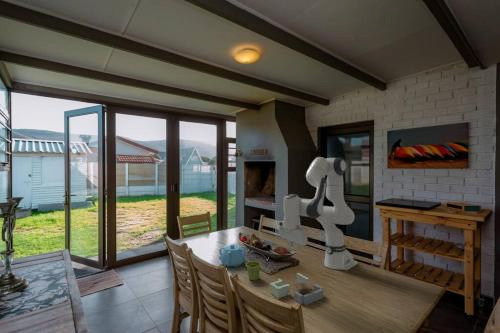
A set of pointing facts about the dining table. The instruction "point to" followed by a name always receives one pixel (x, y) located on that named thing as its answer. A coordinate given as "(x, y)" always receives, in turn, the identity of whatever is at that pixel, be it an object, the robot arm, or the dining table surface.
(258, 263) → the plant pot
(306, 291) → the block
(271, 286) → the pale grey notched piece
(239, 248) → the decorative pot
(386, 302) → the dining table surface
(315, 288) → the dock
